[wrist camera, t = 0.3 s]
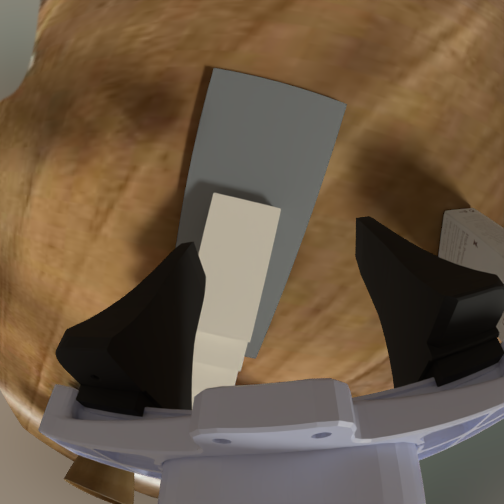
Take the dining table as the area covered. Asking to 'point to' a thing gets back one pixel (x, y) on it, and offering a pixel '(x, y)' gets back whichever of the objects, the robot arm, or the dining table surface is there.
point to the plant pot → (102, 480)
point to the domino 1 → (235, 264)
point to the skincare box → (473, 244)
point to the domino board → (261, 166)
